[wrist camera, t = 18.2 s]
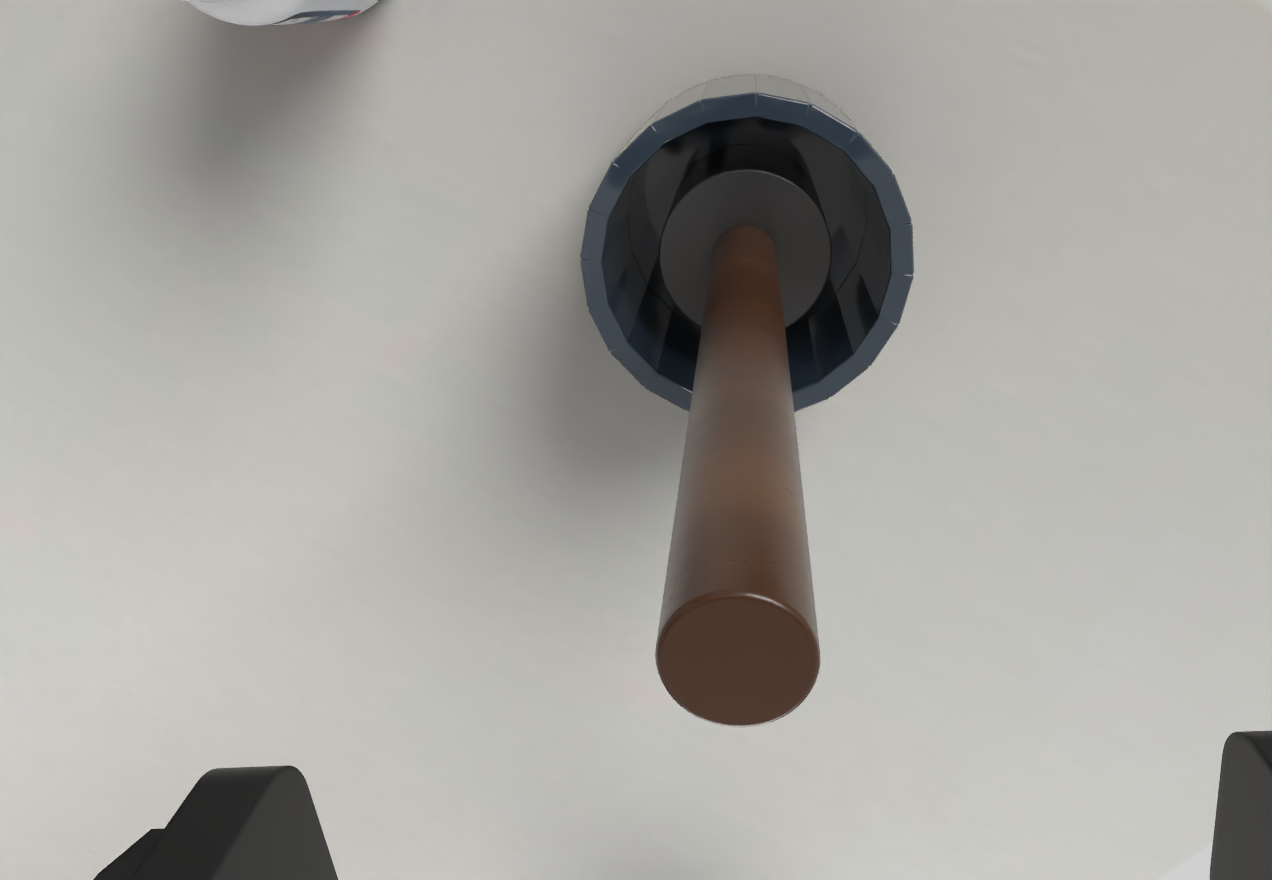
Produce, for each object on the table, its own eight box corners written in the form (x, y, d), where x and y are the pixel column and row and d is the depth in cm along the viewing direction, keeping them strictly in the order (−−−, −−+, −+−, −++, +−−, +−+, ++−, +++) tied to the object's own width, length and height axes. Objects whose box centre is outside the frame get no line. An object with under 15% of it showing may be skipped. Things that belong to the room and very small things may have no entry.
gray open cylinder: (594, 94, 33) (557, 118, 26) (875, 56, 32) (908, 72, 25) (632, 355, 36) (606, 432, 30) (887, 330, 35) (918, 405, 28)
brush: (662, 153, 33) (482, 482, 11) (815, 134, 32) (961, 445, 10) (679, 300, 34) (558, 838, 12) (825, 285, 34) (966, 827, 12)
